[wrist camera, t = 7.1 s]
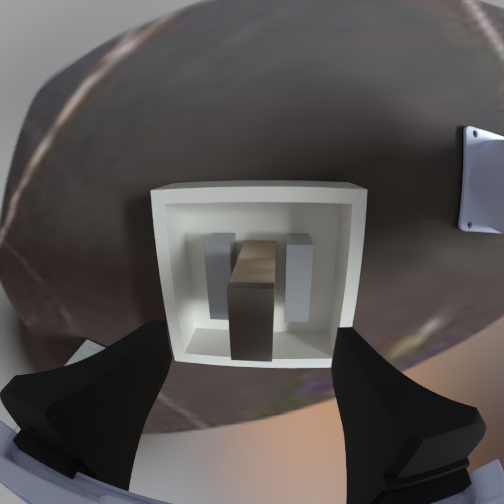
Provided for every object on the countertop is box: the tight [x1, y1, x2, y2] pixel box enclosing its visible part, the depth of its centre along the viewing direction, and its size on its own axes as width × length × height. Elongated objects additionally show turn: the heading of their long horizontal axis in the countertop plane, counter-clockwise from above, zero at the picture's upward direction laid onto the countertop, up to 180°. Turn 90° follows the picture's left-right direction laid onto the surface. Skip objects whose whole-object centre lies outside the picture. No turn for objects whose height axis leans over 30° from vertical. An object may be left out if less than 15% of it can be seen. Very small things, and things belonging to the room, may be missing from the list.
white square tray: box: [151, 180, 367, 368], centre depth 18 cm, size 12×12×4 cm
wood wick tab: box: [227, 240, 276, 362], centre depth 16 cm, size 2×4×7 cm, turn 0°
